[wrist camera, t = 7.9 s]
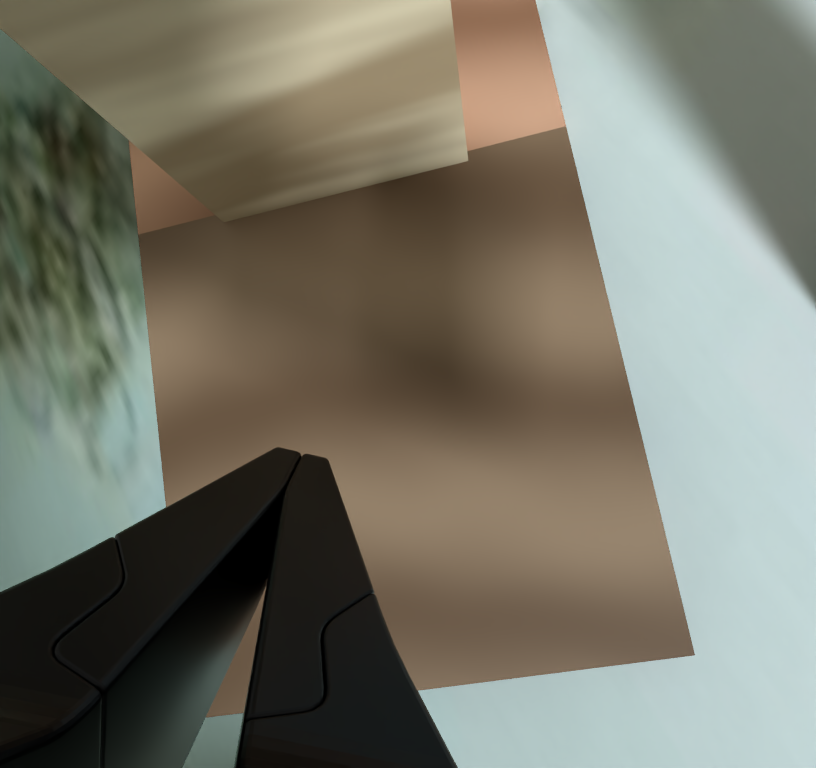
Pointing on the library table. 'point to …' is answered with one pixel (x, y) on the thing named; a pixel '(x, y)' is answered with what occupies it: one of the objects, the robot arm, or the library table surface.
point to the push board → (430, 384)
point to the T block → (261, 89)
